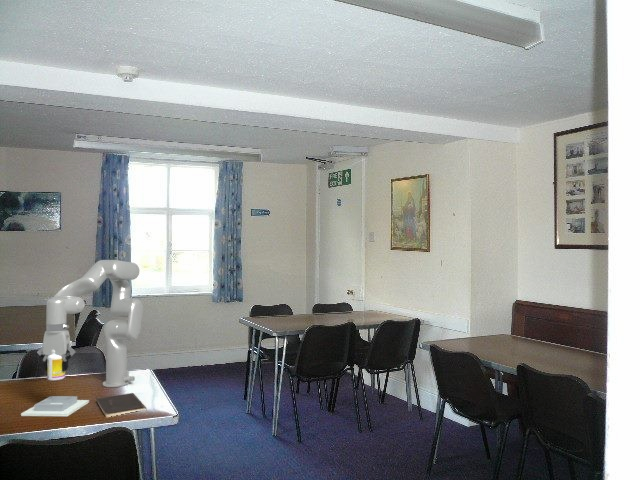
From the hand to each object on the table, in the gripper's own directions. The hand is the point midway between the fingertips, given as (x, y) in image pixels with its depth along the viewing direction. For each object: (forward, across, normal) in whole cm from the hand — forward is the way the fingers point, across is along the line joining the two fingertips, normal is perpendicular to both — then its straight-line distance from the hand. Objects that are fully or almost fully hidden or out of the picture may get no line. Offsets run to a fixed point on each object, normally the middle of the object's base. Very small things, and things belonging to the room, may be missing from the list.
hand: (56, 369), depth 215 cm
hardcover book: (+17, -26, -4) cm, 31 cm away
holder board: (+16, 0, 0) cm, 16 cm away
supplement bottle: (+4, 0, 0) cm, 4 cm away
